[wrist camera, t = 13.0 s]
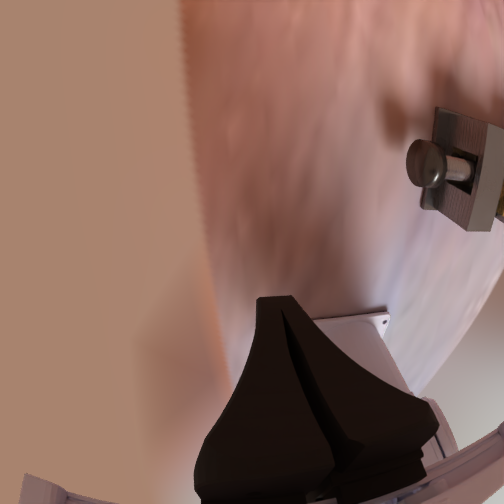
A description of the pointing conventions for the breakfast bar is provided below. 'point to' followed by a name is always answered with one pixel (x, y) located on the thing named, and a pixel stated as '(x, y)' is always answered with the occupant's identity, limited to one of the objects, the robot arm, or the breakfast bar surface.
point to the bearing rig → (486, 177)
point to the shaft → (436, 165)
